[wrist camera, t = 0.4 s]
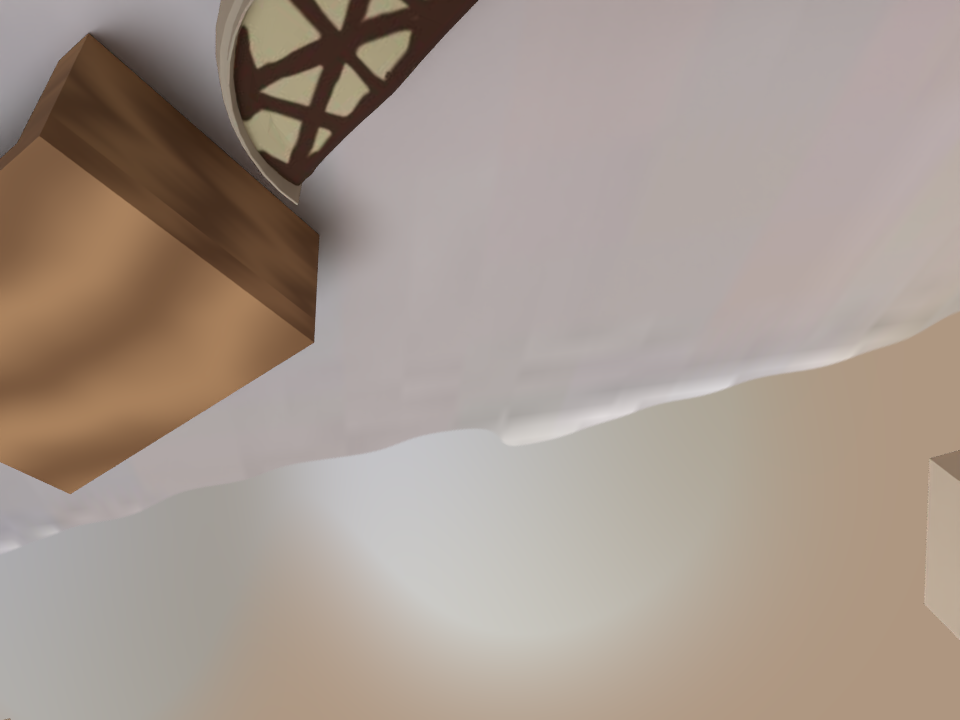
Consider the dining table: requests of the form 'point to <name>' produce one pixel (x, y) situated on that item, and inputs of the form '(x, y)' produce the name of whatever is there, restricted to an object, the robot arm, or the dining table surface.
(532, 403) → the dining table surface
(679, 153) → the dining table surface
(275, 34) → the food container
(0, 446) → the walnut shelf
